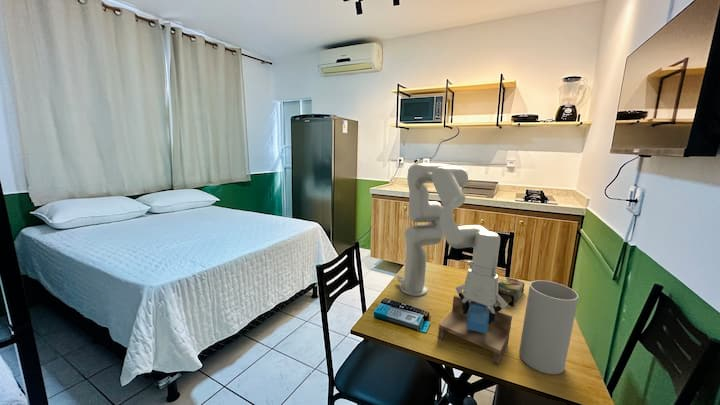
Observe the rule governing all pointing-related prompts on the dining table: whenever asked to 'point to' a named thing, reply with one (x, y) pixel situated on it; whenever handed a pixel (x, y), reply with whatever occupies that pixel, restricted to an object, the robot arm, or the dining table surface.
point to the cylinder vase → (548, 326)
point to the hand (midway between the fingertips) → (477, 316)
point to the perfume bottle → (477, 317)
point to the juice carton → (511, 289)
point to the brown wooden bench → (492, 340)
